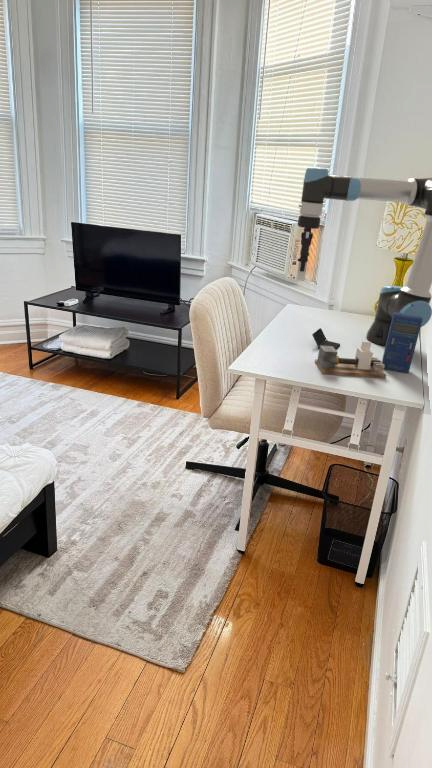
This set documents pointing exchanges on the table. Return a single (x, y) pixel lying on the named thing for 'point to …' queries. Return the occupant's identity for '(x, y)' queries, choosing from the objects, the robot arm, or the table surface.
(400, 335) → the electronic device
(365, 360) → the flanged slider block
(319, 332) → the handheld gaming console
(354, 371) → the comb board
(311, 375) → the table surface
